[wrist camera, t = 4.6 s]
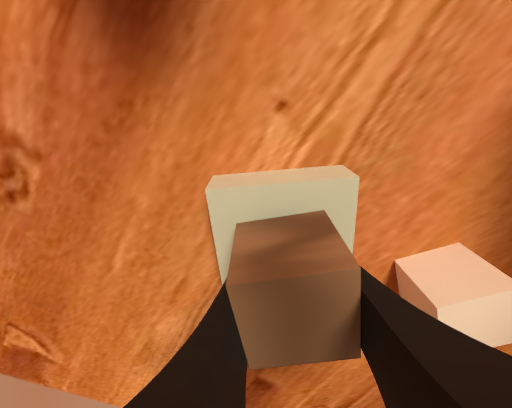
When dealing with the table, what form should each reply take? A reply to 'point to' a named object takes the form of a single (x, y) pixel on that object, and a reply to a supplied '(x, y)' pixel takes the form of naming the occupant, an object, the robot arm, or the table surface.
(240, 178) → the sage slab
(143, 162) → the table surface
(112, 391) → the table surface
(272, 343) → the walnut cube
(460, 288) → the cream cube
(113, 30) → the table surface
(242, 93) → the table surface
